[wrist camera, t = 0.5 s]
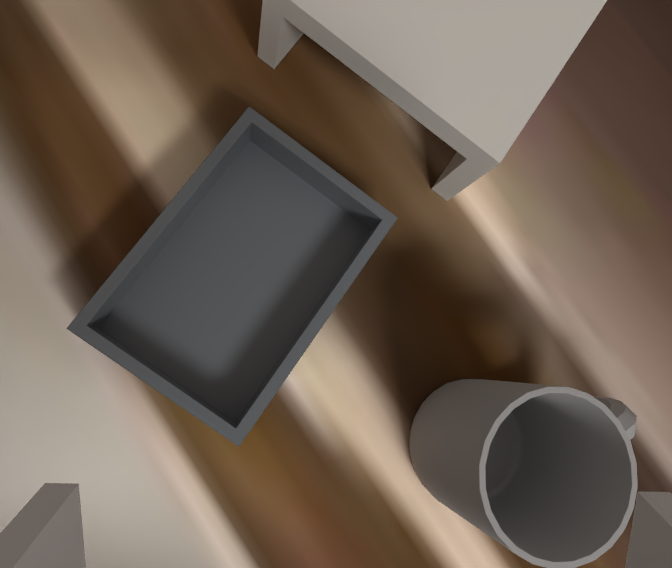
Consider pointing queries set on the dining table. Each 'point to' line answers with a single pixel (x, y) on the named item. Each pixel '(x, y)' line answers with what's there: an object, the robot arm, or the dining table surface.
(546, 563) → the cup
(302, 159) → the grey storage tray
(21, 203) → the dining table surface
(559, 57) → the small white side table
